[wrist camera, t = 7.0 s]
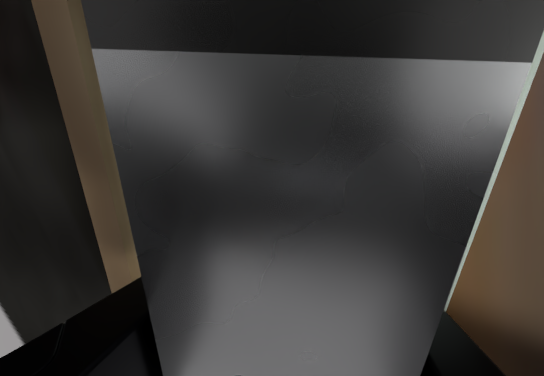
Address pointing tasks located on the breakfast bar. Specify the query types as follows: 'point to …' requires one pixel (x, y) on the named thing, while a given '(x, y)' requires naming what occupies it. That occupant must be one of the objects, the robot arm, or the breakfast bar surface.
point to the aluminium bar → (305, 169)
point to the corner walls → (88, 133)
